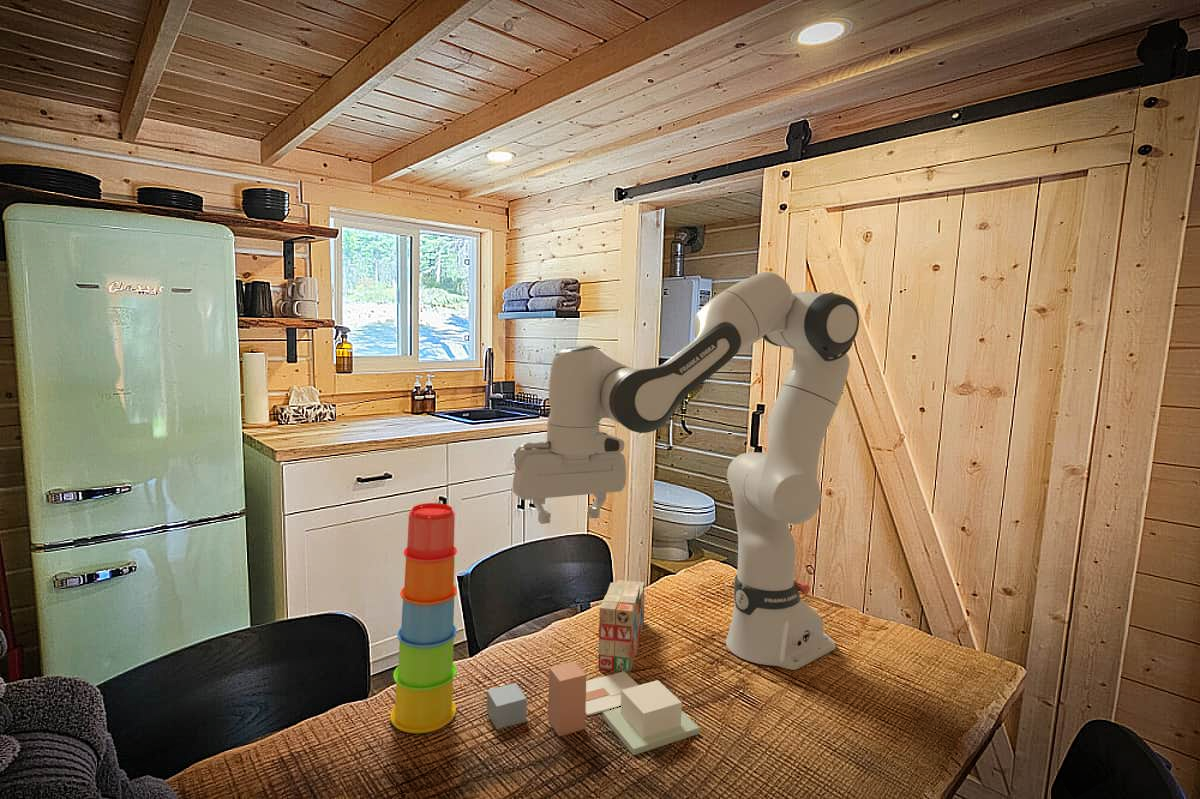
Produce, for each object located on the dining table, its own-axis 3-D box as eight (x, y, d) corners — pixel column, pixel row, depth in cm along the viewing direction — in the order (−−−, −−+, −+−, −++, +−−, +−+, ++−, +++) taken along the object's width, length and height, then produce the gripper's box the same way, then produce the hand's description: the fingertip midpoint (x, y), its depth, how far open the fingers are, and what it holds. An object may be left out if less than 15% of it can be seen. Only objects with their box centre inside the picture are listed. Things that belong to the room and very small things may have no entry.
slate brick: (515, 705, 103) (515, 682, 103) (526, 721, 99) (526, 698, 98) (486, 713, 101) (486, 690, 100) (496, 730, 96) (496, 706, 96)
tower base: (664, 700, 105) (665, 672, 105) (699, 733, 97) (700, 703, 96) (602, 718, 100) (603, 688, 99) (633, 755, 91) (634, 723, 91)
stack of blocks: (616, 619, 136) (617, 565, 135) (644, 622, 135) (646, 568, 133) (597, 670, 115) (599, 606, 114) (630, 674, 114) (632, 610, 112)
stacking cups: (442, 690, 107) (442, 495, 103) (466, 720, 98) (467, 509, 95) (382, 709, 101) (380, 503, 97) (402, 743, 92) (400, 519, 89)
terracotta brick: (573, 713, 101) (574, 661, 100) (585, 728, 97) (586, 674, 96) (548, 720, 99) (548, 667, 98) (559, 736, 95) (560, 681, 94)
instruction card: (624, 672, 114) (624, 670, 114) (650, 698, 106) (650, 696, 106) (565, 687, 108) (565, 685, 108) (587, 716, 100) (587, 713, 100)
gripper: (522, 446, 97) (519, 531, 98) (632, 441, 107) (628, 519, 108) (508, 440, 102) (505, 521, 103) (614, 436, 112) (610, 510, 113)
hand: (569, 520), depth 106 cm, fingers open, 8 cm apart
